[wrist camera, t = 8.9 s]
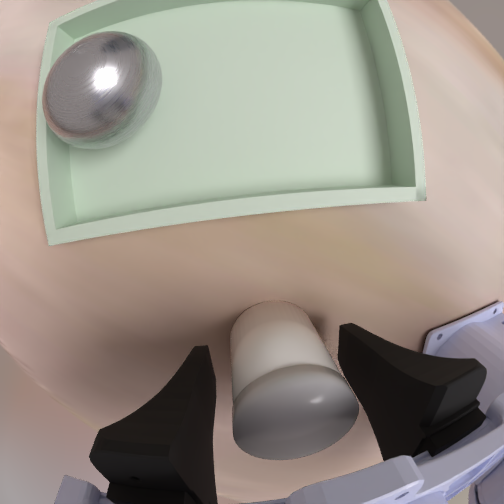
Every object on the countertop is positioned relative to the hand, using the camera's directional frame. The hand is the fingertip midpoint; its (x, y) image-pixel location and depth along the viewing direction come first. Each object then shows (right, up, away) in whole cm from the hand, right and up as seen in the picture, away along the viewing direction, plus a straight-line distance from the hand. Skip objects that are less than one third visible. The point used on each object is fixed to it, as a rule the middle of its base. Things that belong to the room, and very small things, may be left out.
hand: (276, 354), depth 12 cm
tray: (-2, +12, -2) cm, 12 cm away
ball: (-7, +10, -5) cm, 13 cm away
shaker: (0, 0, +1) cm, 2 cm away
